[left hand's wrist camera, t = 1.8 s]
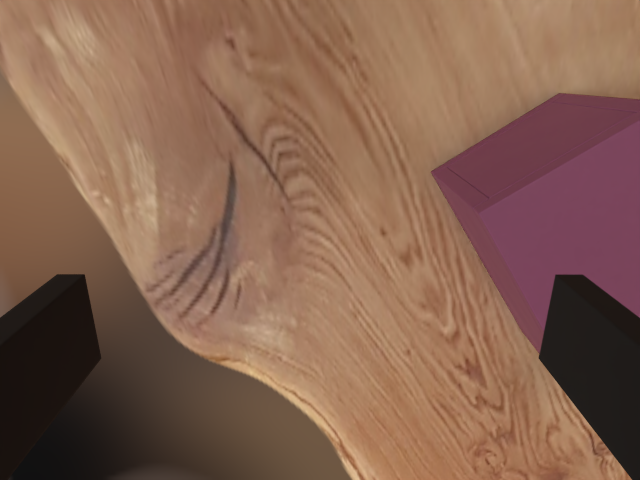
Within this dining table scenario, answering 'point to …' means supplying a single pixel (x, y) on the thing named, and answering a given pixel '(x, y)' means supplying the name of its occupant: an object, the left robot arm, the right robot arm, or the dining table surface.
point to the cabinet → (554, 202)
